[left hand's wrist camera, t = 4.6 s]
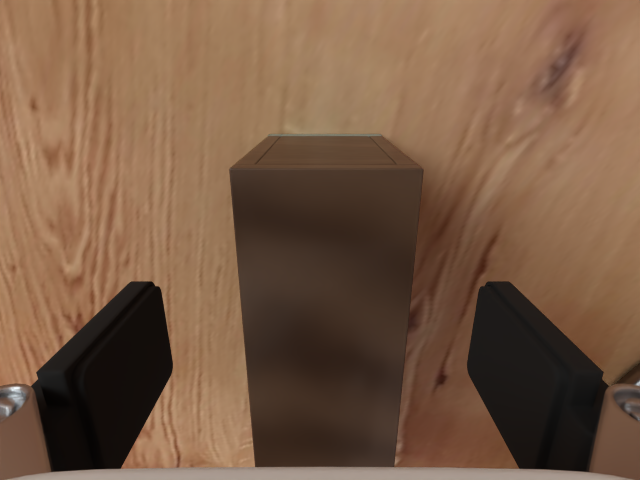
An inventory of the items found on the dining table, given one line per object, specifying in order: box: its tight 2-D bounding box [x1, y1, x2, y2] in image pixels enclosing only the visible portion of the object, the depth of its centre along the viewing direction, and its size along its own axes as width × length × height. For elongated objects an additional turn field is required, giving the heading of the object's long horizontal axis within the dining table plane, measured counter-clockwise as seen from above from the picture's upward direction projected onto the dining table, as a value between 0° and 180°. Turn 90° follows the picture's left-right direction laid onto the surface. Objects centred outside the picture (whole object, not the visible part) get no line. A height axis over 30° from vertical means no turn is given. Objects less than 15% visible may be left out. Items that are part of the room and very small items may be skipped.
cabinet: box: [229, 134, 423, 467], centre depth 21 cm, size 17×7×11 cm, turn 0°
